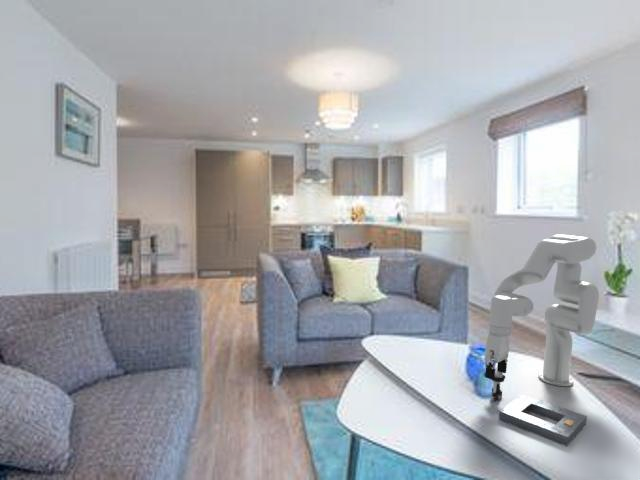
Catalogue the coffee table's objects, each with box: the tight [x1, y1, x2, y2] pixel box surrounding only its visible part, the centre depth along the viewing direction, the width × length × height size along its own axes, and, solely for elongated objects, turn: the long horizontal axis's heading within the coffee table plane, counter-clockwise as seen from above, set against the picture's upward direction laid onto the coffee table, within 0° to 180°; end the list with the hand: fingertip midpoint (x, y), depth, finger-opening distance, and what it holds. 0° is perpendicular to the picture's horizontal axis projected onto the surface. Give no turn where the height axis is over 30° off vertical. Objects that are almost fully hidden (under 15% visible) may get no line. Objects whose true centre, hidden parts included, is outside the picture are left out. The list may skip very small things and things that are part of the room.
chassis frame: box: [498, 393, 588, 447], centre depth 146 cm, size 19×21×3 cm
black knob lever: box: [489, 370, 506, 402], centre depth 161 cm, size 7×5×10 cm
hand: (495, 375), depth 161 cm, fingers open, 9 cm apart
